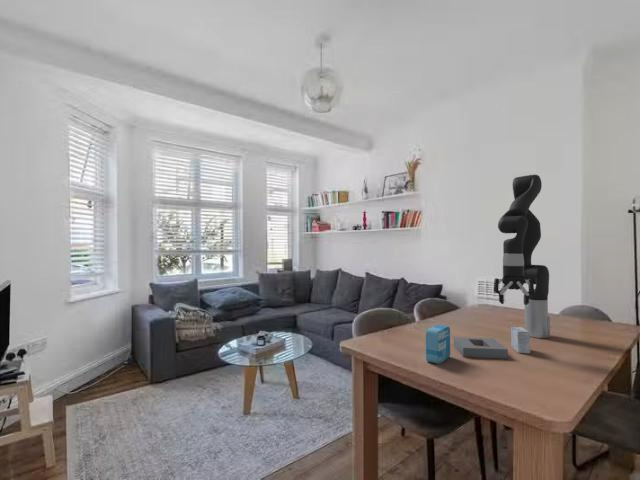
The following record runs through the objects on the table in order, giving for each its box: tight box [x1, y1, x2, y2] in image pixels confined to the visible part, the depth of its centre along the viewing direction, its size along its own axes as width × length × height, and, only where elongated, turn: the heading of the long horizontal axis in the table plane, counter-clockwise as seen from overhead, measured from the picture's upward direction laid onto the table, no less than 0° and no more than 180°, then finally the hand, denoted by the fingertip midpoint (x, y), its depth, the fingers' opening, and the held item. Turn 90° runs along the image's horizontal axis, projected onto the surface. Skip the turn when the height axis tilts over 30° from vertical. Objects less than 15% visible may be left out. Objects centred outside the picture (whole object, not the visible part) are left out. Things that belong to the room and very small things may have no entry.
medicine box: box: [510, 326, 531, 354], centre depth 136 cm, size 8×4×9 cm, turn 168°
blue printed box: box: [425, 324, 451, 365], centre depth 126 cm, size 12×4×12 cm, turn 138°
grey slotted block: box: [453, 336, 509, 360], centre depth 135 cm, size 16×15×4 cm
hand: (513, 304), depth 137 cm, fingers open, 8 cm apart
